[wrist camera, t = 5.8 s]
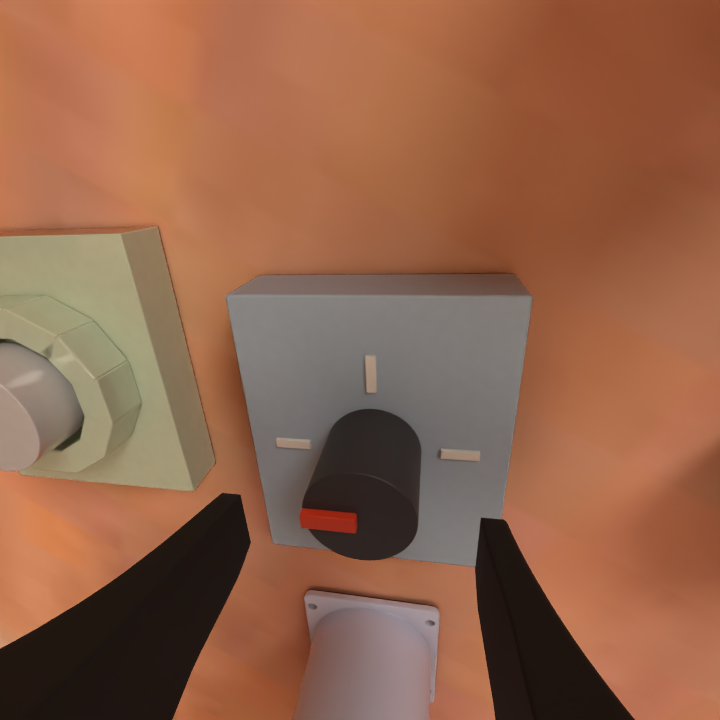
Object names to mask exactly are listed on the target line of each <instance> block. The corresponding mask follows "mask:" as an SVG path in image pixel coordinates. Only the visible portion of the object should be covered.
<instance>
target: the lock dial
mask: <svg viewBox="0 0 720 720" xmlns="http://www.w3.org/2000/svg"><path fill="white" fill-rule="evenodd" d="M421 454H422V452H421V444H420V441H419V438H418V436H417V434H416V433H415V431H414V430H413V429H412V427H411V426H410V425H409V424H408V423H407V422H405V421H404V420H403V419H401V418H400V417H398V416H396V415H394V414H392V413H390V412H387V411H383V410H378V409H362V410H357V411H353V412H351V413H348V414H346V415H345V416H343V417H342V418H340V419H339V420H338V421H337V422H336V423H335V424H334V426H333V427H332V429H331V431H330V433H329V436H328V438H327V440H326V443H325V445H324V448H323V450H322V453H321V455H320V458H319V460H318V463H317V465H316V468H315V470H314V473H313V475H312V478H311V480H310V483H309V485H308V488H307V490H306V493H305V495H304V498H303V502H302V509H301V512H300V514H299V516H300V523H301V528H307V529H309V531H310V532H311V534H312V535H313V536H314V537H315V538H316V539H317V540H318V541H319V542H320V543H321V544H323V545H324V546H325V547H327V548H328V549H330V550H332V551H334V552H336V553H338V554H340V555H343V556H346V557H349V558H353V559H359V560H381V559H386V558H389V557H392V556H395V555H397V554H399V553H401V552H402V551H403V550H405V549H406V548H407V547H408V546H409V545H410V544H411V542H412V541H413V540H414V538H415V536H416V533H417V530H418V518H419V497H420V475H421Z"/></svg>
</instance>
